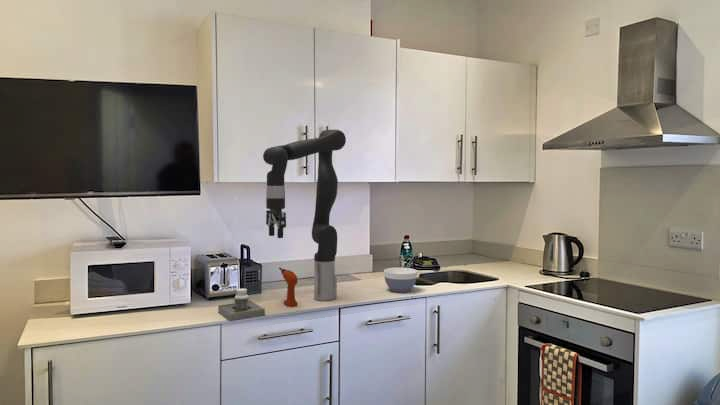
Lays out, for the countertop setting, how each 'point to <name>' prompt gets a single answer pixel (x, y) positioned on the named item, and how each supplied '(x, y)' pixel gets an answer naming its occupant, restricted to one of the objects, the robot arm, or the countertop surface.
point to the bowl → (400, 279)
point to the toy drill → (290, 287)
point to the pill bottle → (241, 300)
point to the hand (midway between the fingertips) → (275, 236)
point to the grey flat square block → (240, 311)
